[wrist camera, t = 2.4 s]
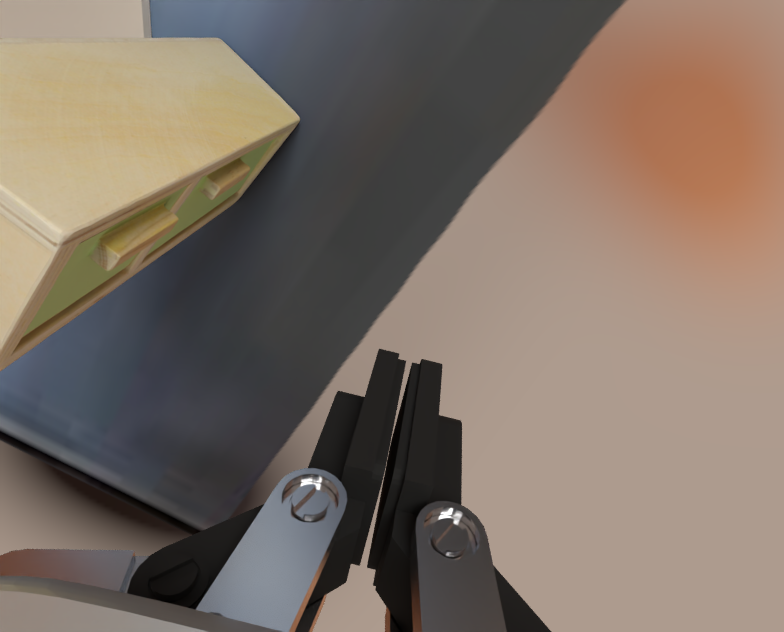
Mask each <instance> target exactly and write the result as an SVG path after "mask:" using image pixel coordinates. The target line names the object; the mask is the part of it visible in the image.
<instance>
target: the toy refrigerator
mask: <svg viewBox="0 0 784 632" xmlns="http://www.w3.org/2000/svg"><path fill="white" fill-rule="evenodd" d="M299 122H300V118H299V116H298V115H297V114H296V112H295V111H294V110H293V109H292V108H291V107H290V106H289V105H288V104H287V103H286V102H285V101H284V100H283V99H282V98H281V97H280V96H279V95H278V94H277V93H276V92H275V91H274V90H273V89H272V88H271V87H270V86H269V85H268V84H267V83H266V82H265V81H264V80H263V79H262V78H261V77H259V76H258V75H257V74H256V73H255V72H254V71H253V70H252V69H251V68H250V67H249V66H248V65H247V64H246V63H245V62H244V61H243V60H242V59H241V58H240V57H239V56H238V55H237V54H236V53H235V52H234V51H233V50H232V49H231V48H230V47H229V46H228V45H227V44H225V43H224V42H223V41H222V40H221V39H219V38H0V371H2V370H3V369H4V368H6V367H7V366H9V365H10V364H11V363H13V362H14V361H16V360H17V359H18V358H20V357H21V356H23V355H24V354H25V353H27V352H28V351H29V350H31V349H32V348H34V347H35V346H36V345H38V344H39V343H41V342H42V341H43V340H45V339H46V338H47V337H48V336H50V335H51V334H53V333H54V332H56V331H57V330H58V329H60V328H61V327H63V326H64V325H66V324H67V323H69V322H70V321H71V320H73V319H74V318H75V317H77V316H78V315H80V314H81V313H82V312H84V311H85V310H86V309H88V308H89V307H91V306H92V305H93V304H95V303H96V302H97V301H99V300H100V299H102V298H103V297H104V296H106V295H107V294H109V293H110V292H111V291H113V290H114V289H115V288H117V287H118V286H120V285H121V284H122V283H124V282H125V281H127V280H128V279H129V278H131V277H132V276H133V275H135V274H136V273H138V272H139V271H141V270H142V269H143V268H145V267H146V266H148V265H149V264H150V263H152V262H153V261H154V260H156V259H157V258H159V257H160V256H161V255H163V254H164V253H166V252H167V251H169V250H170V249H171V248H173V247H174V246H176V245H177V244H178V243H180V242H181V241H183V240H184V239H185V238H187V237H188V236H190V235H191V234H192V233H194V232H195V231H197V230H198V229H199V228H201V227H202V226H204V225H205V224H207V223H208V222H209V221H211V220H212V219H213V218H215V217H216V216H218V215H219V214H220V213H222V212H223V211H225V210H226V209H227V208H229V207H230V206H231V205H233V204H234V203H235V202H236V201H238V200H239V198H240V197H241V196H242V195H243V193H244V192H245V191H246V189H247V188H248V187H249V186H250V184H251V183H252V182H253V181H254V179H255V178H256V177H257V175H258V174H259V173H260V172H261V170H262V169H263V168H264V167H265V165H266V164H267V163H268V161H269V160H270V159H271V158H272V156H273V155H274V154H275V152H276V151H277V150H278V149H279V147H280V146H281V145H282V143H283V142H284V141H285V140H286V138H287V137H288V136H289V135H290V133H291V132H292V131H293V130H294V128H295V127H296V126H297V124H298V123H299Z"/></svg>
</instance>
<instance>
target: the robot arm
mask: <svg viewBox="0 0 784 632" xmlns="http://www.w3.org/2000/svg"><path fill="white" fill-rule="evenodd" d="M398 357H399V354H398V353H395V352H391V351H386V350H382V349H379V351H378V354H377V357H376V361H375V364H374V368H373V371H372V374H371V378H370V381H369V384H368V388H367V391H366V395H365V397H361V396H357V395H353V394H349V393H345V392H340V391H338V392H337V394H336V396H335V398H334V401H333V404H332V406H331V409H330V412H329V414H328V417H327V419H326V422H325V425H324V427H323V430H322V433H321V435H320V438H319V440H318V443H317V446H316V448H315V451H314V453H313V456H312V459H311V462H310V464H309V466H308V468H304V469H300V470H296V471H293V472H291V473H290V474H288V475H286V476H285V477H284V478H283V479H282V480H281V481H280V482H279V483H278V484H277V486H276V487H275V489H274V490H273V492H272V493H271V495H270V497H269V498H268V500H267V501H266V503H265V504H263V505H261V506H259V507H256V508H254V509H252V510H249V511H247V512H245V513H242V514H240V515H238V516H236V517H233V518H231V519H229V520H226V521H224V522H222V523H219V524H217V525H215V526H213V527H210V528H208V529H206V530H203V531H201V532H199V533H196V534H194V535H192V536H189V537H187V538H185V539H183V540H180V541H178V542H176V543H173V544H171V545H169V546H166V547H164V548H162V549H161V550H159V551H157V552H155V553H154V554H152V555H150V556H135V551H130V550H69V549H23V550H15V551H11V552H8V553H5V554H3V555H0V632H312V631H313V628H314V626H315V624H316V621H317V619H318V617H319V614H320V612H321V609H322V607H323V605H324V602H325V599H326V595H327V594H328V593H329V592H331V591H333V590H334V589H336V588H338V587H339V586H341V585H342V584H344V583H346V581H347V576H348V573H349V569H350V565H351V564H355V565H360V562H361V559H362V555H363V551H364V547H365V543H366V540H367V536H368V532H369V528H370V525H371V521H372V517H373V514H374V510H375V506H376V502H377V499H378V495H379V491H380V487H381V484H382V480H383V476H384V471H385V467H386V471H385V477H384V481H383V487H382V492H381V497H380V502H379V507H378V512H377V518H376V523H375V528H374V533H373V538H372V544H371V549H370V554H369V559H368V565H367V567H368V568H371V569H375V570H376V572H375V578H374V583H373V585H374V586H376V591H377V593H378V594H379V596H380V597H381V599H382V600H383V602H384V603H385V605H386V606H387V607H386V614H385V632H551V631H550V630H549V629H548V627H547V626H546V625H545V624H544V623H543V622H542V621H541V619H540V618H539V617H538V616H537V615H536V614H535V613H534V611H533V610H532V609H531V608H530V607H529V606H528V605H527V603H526V602H525V601H524V600H523V599H522V598H521V597H520V595H518V593H517V592H516V591H515V590H514V589H513V587H512V586H511V585H510V584H509V583H508V582H507V580H506V579H505V578H504V577H503V576H502V575H501V574H500V573H499V571H498V570H497V569H496V568H495V567H494V566H493V562H492V557H491V552H490V548H489V543H488V538H487V535H486V532H485V529H484V526H483V525H482V523H481V522H480V520H479V519H478V517H477V516H476V515H474V514H473V513H472V512H471V511H470V510H469V509H467V508H465V507H464V506H462V505H461V475H462V474H461V473H462V423H461V421H460V420H456V419H452V418H448V417H444V416H440V415H439V405H440V390H441V377H442V364H440V363H436V362H432V361H428V360H424V359H422V360H421V362H420V364H417V363H412V366H411V369H410V374H409V377H408V381H407V384H406V388H405V392H404V396H403V400H402V403H401V407H400V411H399V414H398V418H397V422H396V426H395V430H394V433H393V437H392V441H391V436H392V431H393V426H394V420H395V415H396V410H397V405H398V400H399V395H400V390H401V385H402V379H403V374H404V369H405V363H406V361H404V360H400V359H398ZM390 441H391V446H390ZM389 446H390V451H389ZM388 451H389V455H388ZM387 457H388V460H387ZM386 462H387V466H386Z"/></svg>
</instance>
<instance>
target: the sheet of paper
mask: <svg viewBox="0 0 784 632" xmlns="http://www.w3.org/2000/svg"><path fill="white" fill-rule="evenodd" d="M0 38H152V36H151V20H150V4H149V0H0Z"/></svg>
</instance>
